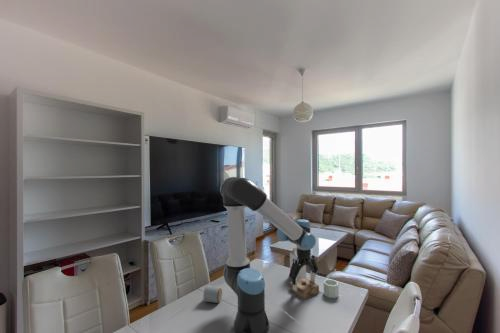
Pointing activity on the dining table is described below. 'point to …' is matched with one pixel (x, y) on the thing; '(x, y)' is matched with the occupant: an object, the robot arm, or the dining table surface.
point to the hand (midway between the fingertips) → (304, 287)
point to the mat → (300, 296)
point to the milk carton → (303, 270)
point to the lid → (305, 288)
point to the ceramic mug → (212, 294)
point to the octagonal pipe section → (331, 288)
